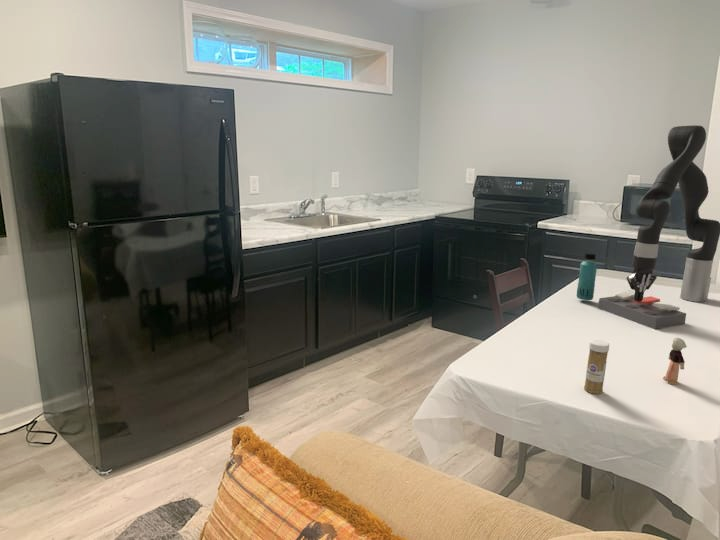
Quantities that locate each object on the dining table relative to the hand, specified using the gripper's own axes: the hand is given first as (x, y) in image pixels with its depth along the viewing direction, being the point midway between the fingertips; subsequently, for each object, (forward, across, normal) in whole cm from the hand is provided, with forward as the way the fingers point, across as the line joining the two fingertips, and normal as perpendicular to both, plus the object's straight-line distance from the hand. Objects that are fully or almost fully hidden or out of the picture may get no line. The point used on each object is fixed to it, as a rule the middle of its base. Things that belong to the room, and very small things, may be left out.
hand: (638, 300), depth 197 cm
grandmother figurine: (+7, +38, +44) cm, 58 cm away
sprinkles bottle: (+8, +62, +40) cm, 74 cm away
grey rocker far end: (+1, -4, +8) cm, 9 cm away
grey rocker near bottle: (+1, -4, -8) cm, 9 cm away
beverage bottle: (+6, +4, -21) cm, 22 cm away
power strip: (+6, -2, 0) cm, 6 cm away
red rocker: (+1, -4, 0) cm, 5 cm away
